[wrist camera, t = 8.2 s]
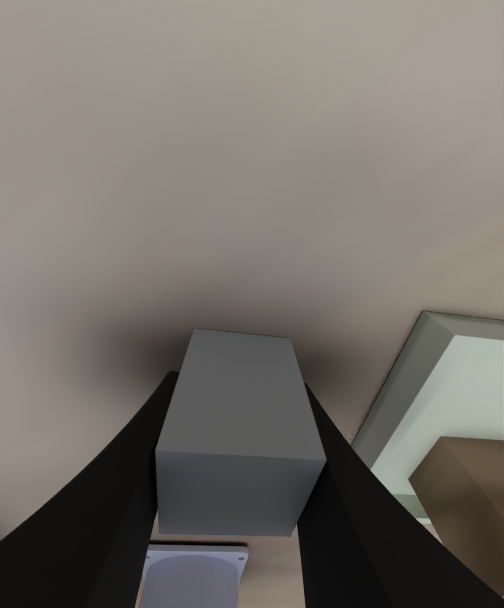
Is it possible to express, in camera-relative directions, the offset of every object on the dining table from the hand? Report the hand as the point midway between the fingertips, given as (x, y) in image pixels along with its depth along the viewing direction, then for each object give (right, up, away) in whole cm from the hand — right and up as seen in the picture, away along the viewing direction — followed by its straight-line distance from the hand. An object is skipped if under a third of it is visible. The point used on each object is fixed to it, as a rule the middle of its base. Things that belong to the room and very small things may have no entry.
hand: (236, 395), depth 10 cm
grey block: (0, +1, +1) cm, 1 cm away
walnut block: (+12, -5, +4) cm, 14 cm away
